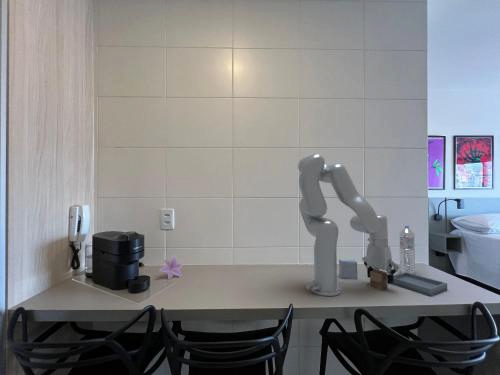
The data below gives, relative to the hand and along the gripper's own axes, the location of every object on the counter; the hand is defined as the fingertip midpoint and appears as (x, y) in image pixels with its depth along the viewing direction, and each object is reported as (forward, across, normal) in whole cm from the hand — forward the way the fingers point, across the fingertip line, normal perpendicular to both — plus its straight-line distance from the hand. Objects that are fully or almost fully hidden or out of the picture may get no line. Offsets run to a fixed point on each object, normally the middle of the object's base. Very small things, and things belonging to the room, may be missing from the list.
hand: (380, 279), depth 115 cm
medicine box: (+3, -16, -2) cm, 17 cm away
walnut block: (+3, 0, -1) cm, 3 cm away
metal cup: (+4, -10, +10) cm, 15 cm away
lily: (+1, -62, -80) cm, 101 cm away
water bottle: (+4, -5, +31) cm, 32 cm away
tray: (+4, +8, +15) cm, 17 cm away
